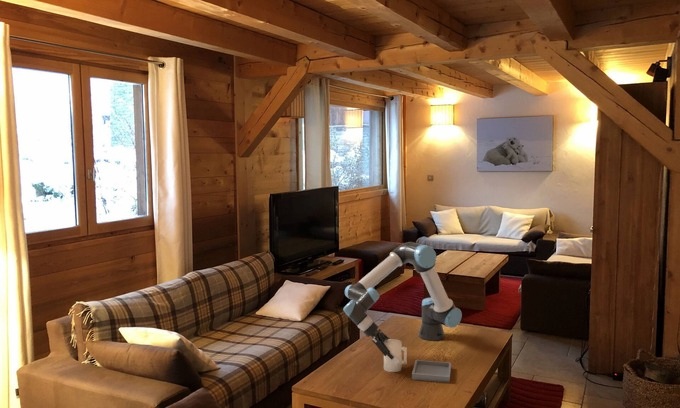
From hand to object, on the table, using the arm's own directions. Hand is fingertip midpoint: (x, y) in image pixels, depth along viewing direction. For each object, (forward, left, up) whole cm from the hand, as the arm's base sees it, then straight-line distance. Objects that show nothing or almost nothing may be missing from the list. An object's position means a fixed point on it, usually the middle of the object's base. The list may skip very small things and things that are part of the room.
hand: (398, 359), depth 287 cm
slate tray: (+2, +17, -5) cm, 18 cm away
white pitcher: (0, -2, -5) cm, 6 cm away
